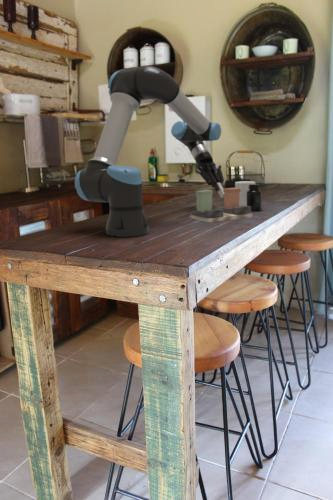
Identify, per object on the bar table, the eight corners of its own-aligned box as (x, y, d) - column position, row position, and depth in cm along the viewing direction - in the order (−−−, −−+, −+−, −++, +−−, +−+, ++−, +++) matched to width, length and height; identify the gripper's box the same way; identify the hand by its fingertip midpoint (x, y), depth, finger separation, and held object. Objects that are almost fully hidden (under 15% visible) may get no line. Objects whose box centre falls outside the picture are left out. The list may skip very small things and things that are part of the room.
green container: (201, 215, 176) (201, 191, 174) (195, 214, 180) (195, 190, 178) (213, 214, 179) (213, 190, 177) (207, 213, 183) (206, 189, 181)
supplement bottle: (260, 209, 202) (261, 183, 200) (262, 211, 196) (262, 184, 193) (245, 209, 203) (246, 183, 200) (247, 211, 196) (247, 185, 194)
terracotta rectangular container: (229, 212, 183) (229, 189, 180) (223, 211, 187) (223, 188, 184) (240, 211, 185) (240, 188, 183) (233, 210, 189) (234, 187, 187)
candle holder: (231, 206, 216) (231, 182, 213) (249, 205, 219) (249, 181, 216) (240, 208, 207) (240, 183, 204) (258, 207, 210) (259, 182, 207)
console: (208, 222, 170) (208, 211, 169) (190, 218, 183) (189, 207, 182) (252, 217, 180) (252, 206, 179) (232, 213, 193) (232, 203, 191)
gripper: (210, 161, 207) (231, 199, 197) (187, 163, 201) (207, 202, 191) (217, 150, 202) (239, 188, 191) (193, 151, 196) (214, 191, 185)
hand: (223, 195), depth 191 cm, fingers closed
